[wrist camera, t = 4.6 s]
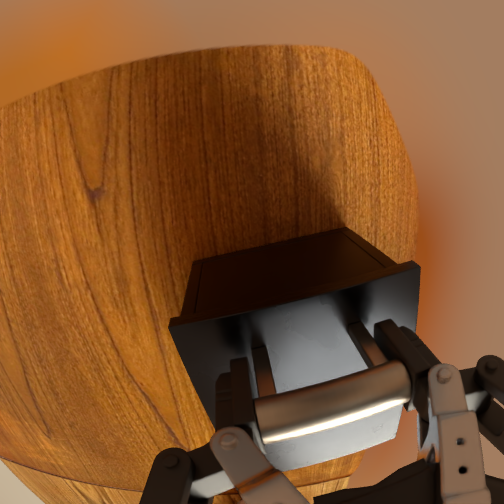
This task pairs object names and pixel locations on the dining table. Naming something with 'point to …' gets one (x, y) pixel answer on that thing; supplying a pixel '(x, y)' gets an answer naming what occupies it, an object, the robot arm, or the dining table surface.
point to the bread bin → (279, 269)
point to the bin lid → (310, 363)
